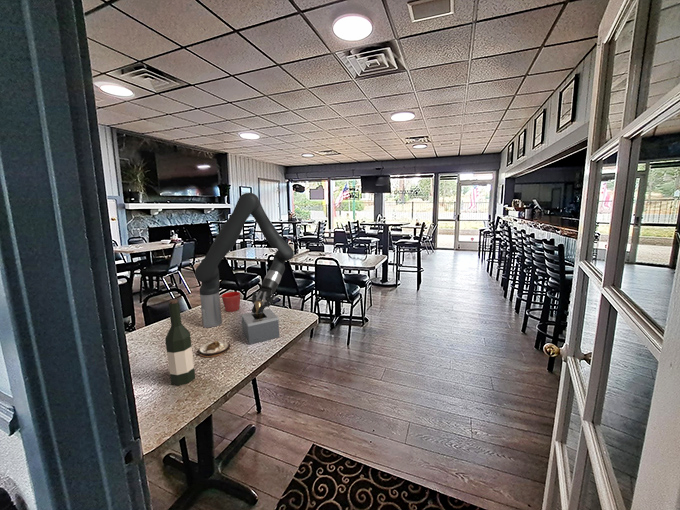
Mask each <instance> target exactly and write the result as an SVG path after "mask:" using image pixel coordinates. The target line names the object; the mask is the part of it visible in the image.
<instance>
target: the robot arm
mask: <svg viewBox="0 0 680 510" xmlns="http://www.w3.org/2000/svg"><path fill="white" fill-rule="evenodd" d="M250 216H252V217H253V219H254V220H255V222H256V223H257V226H258V228H259V229H260V231H261V233H262V235H263V236H264V238H265V240H266V242H268V245H269V246H270V247H271V248H275V249H276V252H275V254H274V255H273V260H272V264H271V265H270V267H269V270H268V271H267V272H266V275H265V276H264V279H263V280H262V282H261V284H260V289H259V290H258V291H256V292H255V291H253V292H252V295H251V296H252V297H251V303H252V304H253V306H252V308H251V312H252V313H256V309H255V301H256V300H261V301H262V304H261V306H260V308H259V310H258V312H257V313H258V314H260V315H261V314H262V313H263V310H265V309H266V308H270V307H271V305H273V303H275V301H276V300H277V296H276V295H275V294H274V293H276V291H277V289H278V286H279V284H280V283H281V280H282V277H283V275H284V272H285V271H286V267H285V263H286V262H287V261H290V260H292V259H293V258H294V256H295V254H294V253H295V252H294V250H293V248H292V246H290V245H289V243H288V242H286V240H285V239H283V238H282V236H281V234H280V233H279V232H278V230H277V229H276V226H274V224H273V223H272V222H271V220H270V218H269V217H268V215H267V213H266V212H265V210H264V207H263V206H262V204H261V202H260V199H259V197H258V195H256V194H255V193H254V192H253V193H252V192H245V193H242V194H241V195H240V197H239V198H238V200H237V202H236V204H235V206H234V208H233V211H232V213H231V214H230V216H229V218H228V219H227V220H226V222H225V223H224V224H223V225H222V228H220V230H219V232H218V234H217V235H216V237H215V238H214V240H213V242H212V244H211V246H210V248H209V249H208V252H207V253H206V255H205V256H204V258H203V259H202V260H201V262H200V263H199V264H198V266H197V267H196V269H195V272H194V274H195V275H194V276H195V278H196V279H197V281H199V282H200V283H201V285H200V288H199V297H200V298H199V299H200V306H201V307H200V310H201V319H202V326H203V328H214V327H218V326H220V325H222V324H223V317H222V309H221V308H222V307H221V306H222V305H221V297H220V284H221V283H220V271H219V267H218V266H219V264H220V263H221V261H222V260H223V259H224V258H225V257H226V256H227V255H228V254H229V252H230V251H231V250H232V249H233V247H234V246H235V244H236V243H237V241H238V239H239V238H240V236H241V233H242V230H243V228H244V225H245V223H246V222H247V220H248V219H249V217H250Z"/></svg>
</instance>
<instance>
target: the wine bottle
mask: <svg viewBox="0 0 680 510" xmlns="http://www.w3.org/2000/svg"><path fill="white" fill-rule="evenodd" d="M168 311H169V317H170V327H169V330H168V332H167V334H166V336H165V339H164V340H165V348H166V355H167V363H168V370H169V376H170V383H171V385H172V386H178V387H179V386H183V385H188V384H189V383H191V382H192V381H194V380H195V379H196V373H195V363H194V354H193V349H192V348H193V347H192V339H191V338H192V337H191V332H190V330H188V329H187V327H186V326H185V325H184V324H183V323H182V316H181V308H180V301H178V299H176V298H174V299H170V300H169V302H168Z"/></svg>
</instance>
